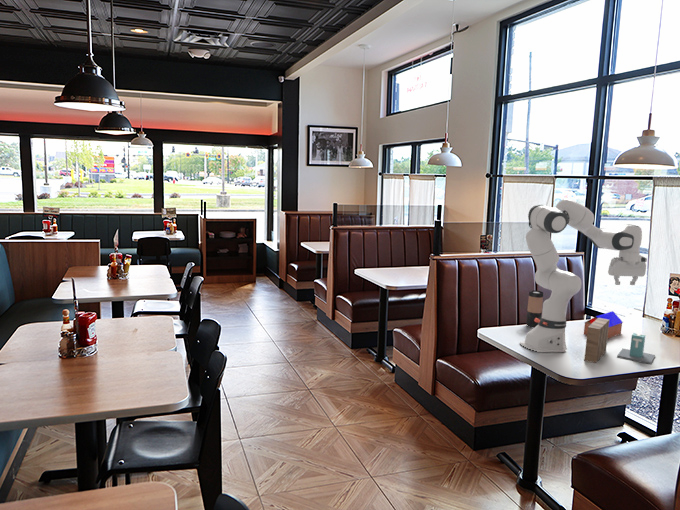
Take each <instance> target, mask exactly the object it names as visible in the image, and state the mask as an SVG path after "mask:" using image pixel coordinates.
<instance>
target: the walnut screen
mask: <svg viewBox="0 0 680 510" xmlns="http://www.w3.org/2000/svg"><path fill="white" fill-rule="evenodd" d="M608 329H609V319H603V318H597V319H596V320H595V321H594V322H593V323H592V324H591V325H590V326H588V330H587V335H586V341H585V350H584V351H585V352H584V361H586V362H591V363H594V364H597V362H598V361H599V360H600V359H601V358H602V356H604V355H605V353H606V352H607V345H608V344H607V343H608V339H609V338H608ZM607 338H608V339H607Z"/></svg>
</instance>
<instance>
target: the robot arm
mask: <svg viewBox="0 0 680 510" xmlns="http://www.w3.org/2000/svg"><path fill="white" fill-rule="evenodd" d="M527 215H528V216H527V217H528V226H529V228H530V230H528V231H527V233H526V234H525V241H526V244H527V247H528V250H529V253H530V254H531V256H532V259H533V260H534V263H535V265H536V269H537V270H536V272H535V274H534V281H535V283H536V284H537V285H538V286H539V287H542V288H543V289H546V290H549V291H551V294H550V297H549V298H547V299H545V300H543V303H542V314H541V318H540V319H538V318H535V322H537V323H538V325H537V326H536V327H535V328H532V329H531V330H530V331H528V332H527V333H526V335H525V340H522V341H520V342H519V345H520V344H521V345H522V346H521V345H520V346H521V347H523V346H524V347H523V348H525V347H526V348H525V349H527V348H528V349H527V350H529V349H531V350H530V351H532V350H534V351H533V352H535V351H537V352H536V353H562V352H564V353H565V352H567V351H566V350H567V344H566V327H567V319H566V318H567V311H568V306H569V302H570V300H571V299H572V297H574V296H575V295H576V294H578V293H579V292H580V291H581V289H582V279H581V278H580V276H579V275H576V274H575V273H573V272H570V271H566V270H562V269H560V268H559V267H558V265H557V264H558V263H559V261H560V256H559V253H558V251H557V249H556V247H555V244H554V243H553V242H554V241H552V239H551V234H558V233H561V232H563V231H564V230H565V228H567V226H570V228H573V229H574V230H577V231H578V232H580V233H581V234H583V235H584V236H585V237H587V238H588V239H589V240H590V241H591V243H592V245H593V246H594V247H595V248H597V249H604V250H605V249H606V250H612V251H618V256H614V257H613V258H612V259H611V260H610V263H609V266H608V271H607V274H608V275H609V276H613V280H614V281H615V282H614V284H615V286H616V285H617V286H620V285H621V281H620V280H619V279H620V277H632V279H631V281H629V285H631V286H636V283H637V281H638V278H642V277H644V276H645V275H646V272H647V262H648V258H647V257H645V256H643V255H641V251H640V247H641V245H642V238H643V231H642V230H643V229H642V228H641V227H640V226H638V225H634V224H624V226H622V227H620V228H619V229H616V230H615V229H607V228H601V227H600V228H599V227H597V226H596V225H594V224H593V223H594V221H595V215H594V213H593V212H592V211H591V210H590V209H589V208H588V207H586V206H584V205H583V204H581V203H580V202H577V201H575V200H572V199H570V198H563V199H561V200H560V201H558V202H557V204H556V205H555V206H554V207H552V206H547V205H545V204H537V205H533V206H532V207H531V208H530V209H529V211H528V214H527Z"/></svg>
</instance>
